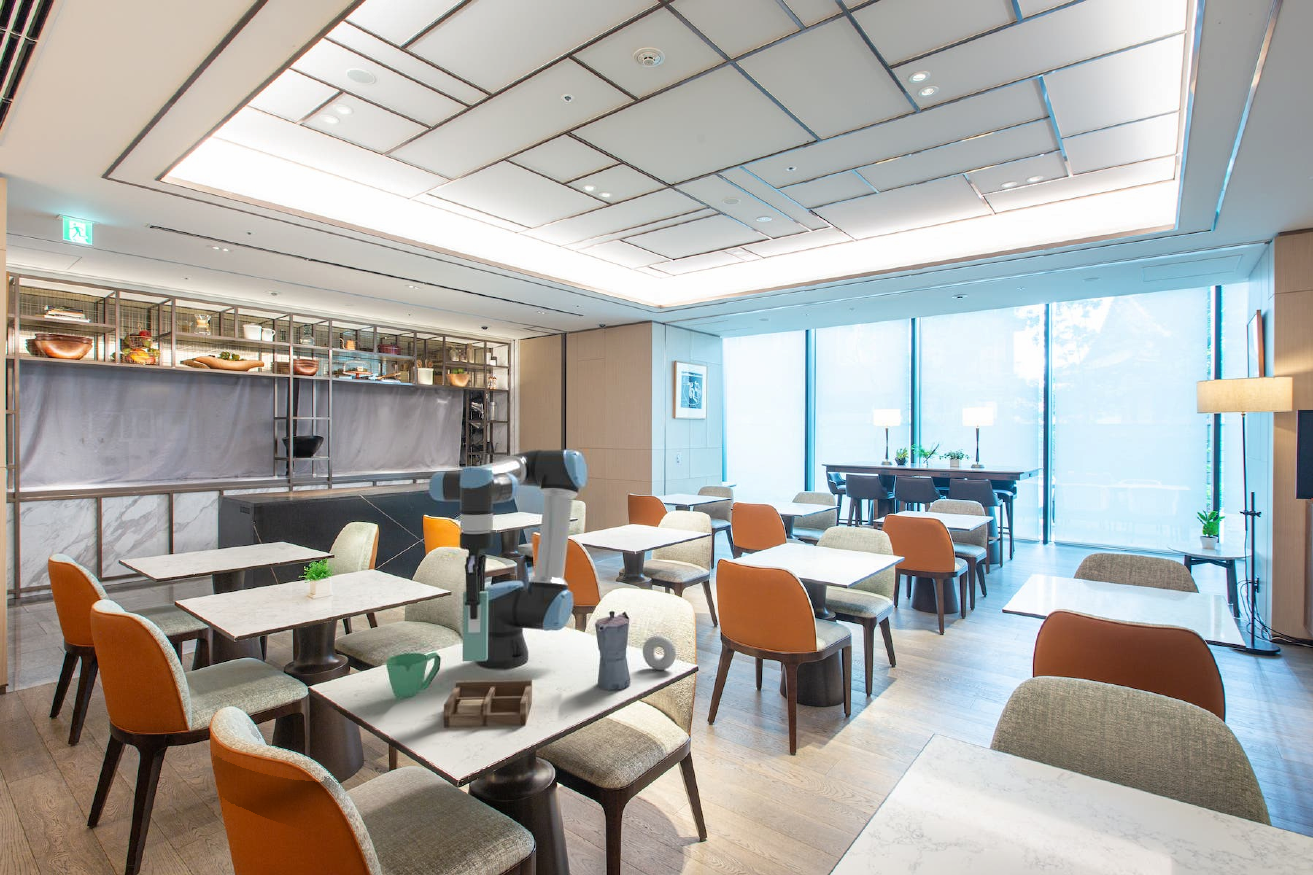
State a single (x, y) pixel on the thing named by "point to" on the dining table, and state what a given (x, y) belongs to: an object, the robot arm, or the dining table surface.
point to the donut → (651, 657)
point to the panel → (476, 642)
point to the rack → (490, 703)
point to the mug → (410, 673)
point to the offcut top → (470, 706)
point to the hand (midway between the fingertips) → (475, 630)
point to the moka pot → (613, 651)
